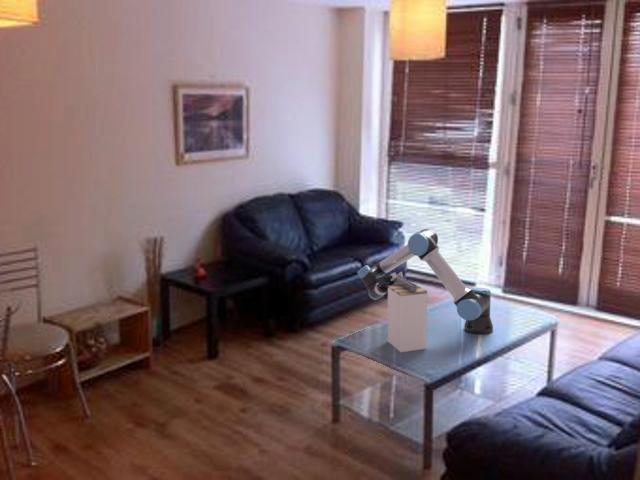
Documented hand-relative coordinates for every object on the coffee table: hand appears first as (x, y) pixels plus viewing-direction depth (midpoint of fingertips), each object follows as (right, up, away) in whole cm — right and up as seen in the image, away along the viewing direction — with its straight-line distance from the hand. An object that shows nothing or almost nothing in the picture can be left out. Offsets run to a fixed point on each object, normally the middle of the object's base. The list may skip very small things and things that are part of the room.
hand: (398, 274), depth 328 cm
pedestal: (+4, -36, -3) cm, 36 cm away
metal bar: (+2, -5, -4) cm, 7 cm away
